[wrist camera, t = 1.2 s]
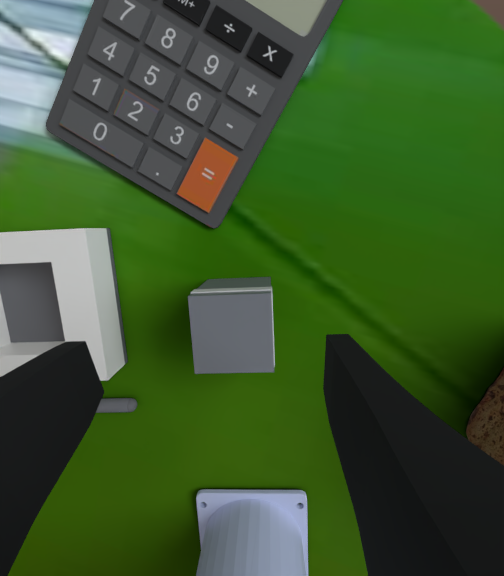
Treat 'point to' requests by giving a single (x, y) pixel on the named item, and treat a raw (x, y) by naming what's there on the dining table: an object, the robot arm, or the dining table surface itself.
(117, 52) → the calculator
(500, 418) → the bread
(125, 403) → the cable
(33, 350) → the switch plate
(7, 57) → the dining table surface
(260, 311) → the block
